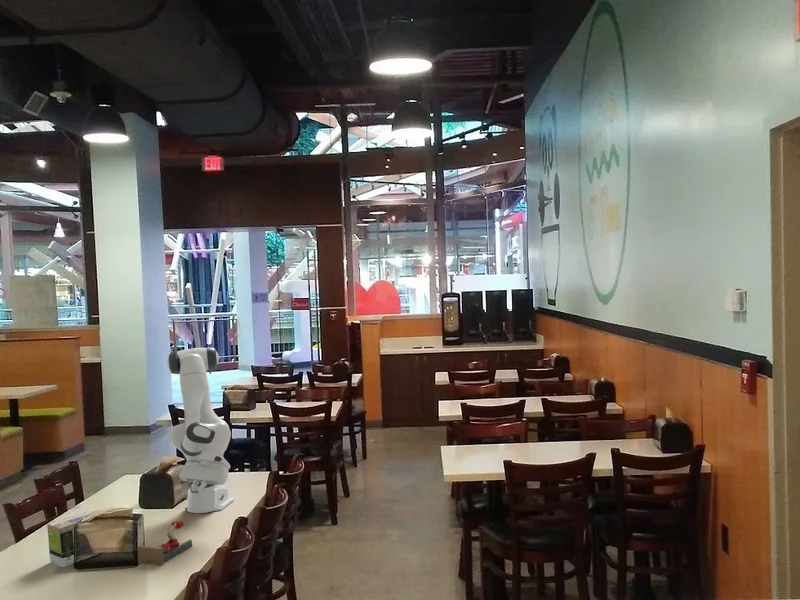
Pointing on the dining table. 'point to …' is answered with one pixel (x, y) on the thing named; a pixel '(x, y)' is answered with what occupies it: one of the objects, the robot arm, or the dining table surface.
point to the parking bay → (160, 553)
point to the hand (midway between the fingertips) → (196, 492)
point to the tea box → (63, 540)
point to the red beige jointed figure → (172, 537)
